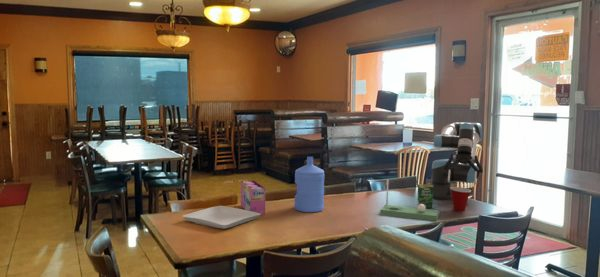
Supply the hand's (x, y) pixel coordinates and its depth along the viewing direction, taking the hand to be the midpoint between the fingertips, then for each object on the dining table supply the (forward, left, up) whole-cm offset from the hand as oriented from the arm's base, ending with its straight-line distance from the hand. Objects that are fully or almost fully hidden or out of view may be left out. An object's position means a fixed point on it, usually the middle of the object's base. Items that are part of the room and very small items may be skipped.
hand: (461, 182), depth 253 cm
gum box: (+48, -101, -16) cm, 113 cm away
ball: (+23, -17, -11) cm, 31 cm away
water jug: (+34, -74, -16) cm, 83 cm away
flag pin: (+18, -36, -13) cm, 43 cm away
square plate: (+74, -103, -16) cm, 128 cm away
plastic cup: (0, 0, -16) cm, 15 cm away
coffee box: (+3, -18, -16) cm, 24 cm away
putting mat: (+22, -23, -15) cm, 36 cm away
